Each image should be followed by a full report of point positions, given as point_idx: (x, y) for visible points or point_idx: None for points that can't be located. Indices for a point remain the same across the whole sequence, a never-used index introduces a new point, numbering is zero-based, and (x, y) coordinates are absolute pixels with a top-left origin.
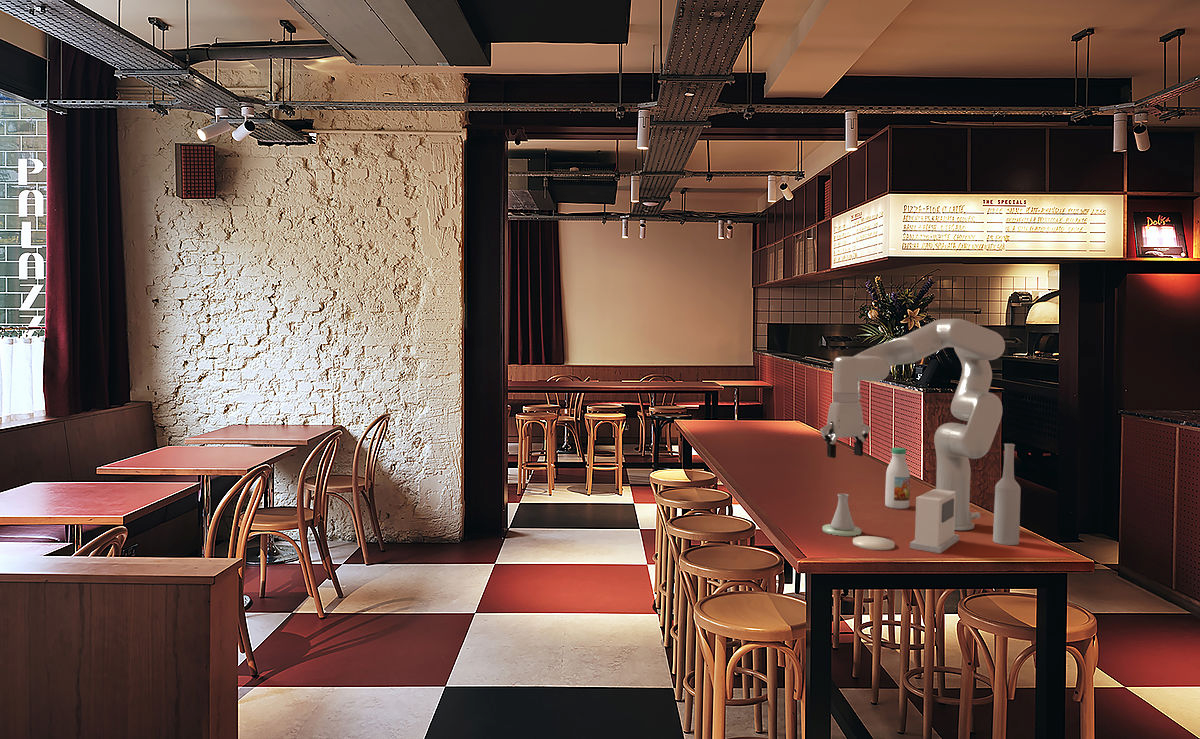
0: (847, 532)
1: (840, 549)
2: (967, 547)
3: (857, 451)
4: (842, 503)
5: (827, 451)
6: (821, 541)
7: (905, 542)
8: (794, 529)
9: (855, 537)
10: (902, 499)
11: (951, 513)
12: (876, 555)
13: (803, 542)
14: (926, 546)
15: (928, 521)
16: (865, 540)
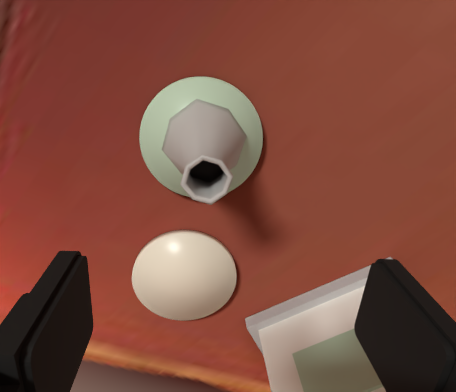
0: (181, 189)
1: None
2: None
3: (376, 322)
4: (192, 180)
5: (15, 312)
6: (67, 205)
7: (278, 282)
8: (60, 48)
9: (164, 238)
10: None
11: None
12: (126, 336)
13: (5, 195)
14: (261, 350)
15: None
16: (169, 268)
